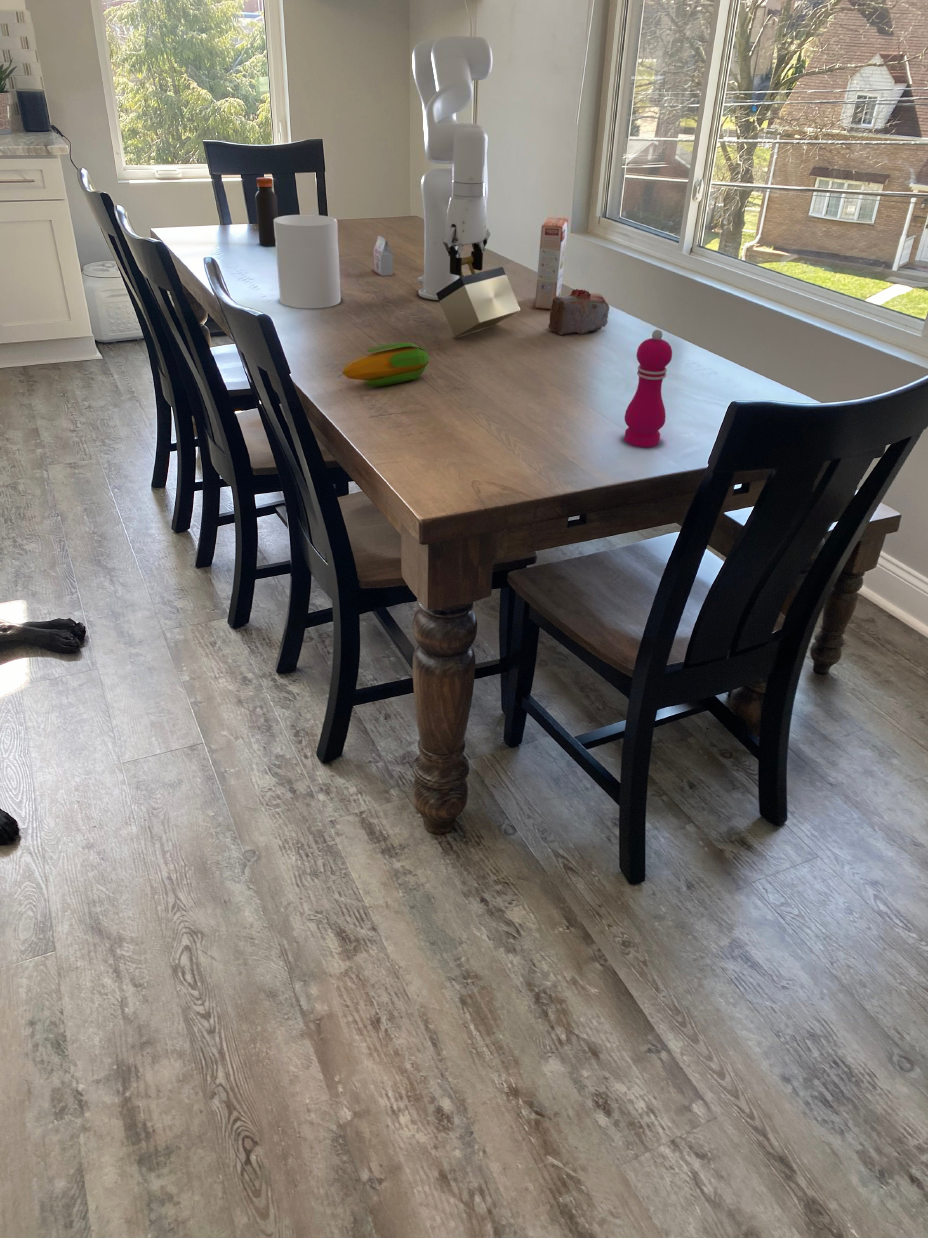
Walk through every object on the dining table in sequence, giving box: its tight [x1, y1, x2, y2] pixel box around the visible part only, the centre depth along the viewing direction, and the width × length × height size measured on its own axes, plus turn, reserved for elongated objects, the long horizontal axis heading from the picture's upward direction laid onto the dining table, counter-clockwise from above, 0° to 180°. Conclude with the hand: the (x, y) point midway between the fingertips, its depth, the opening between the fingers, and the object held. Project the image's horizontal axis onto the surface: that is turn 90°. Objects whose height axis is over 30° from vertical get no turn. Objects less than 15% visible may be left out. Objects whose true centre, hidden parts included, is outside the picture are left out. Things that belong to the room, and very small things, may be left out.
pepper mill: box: [624, 329, 673, 448], centre depth 156 cm, size 7×7×20 cm
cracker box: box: [534, 216, 569, 311], centre depth 237 cm, size 14×6×21 cm, turn 168°
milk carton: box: [372, 235, 394, 277], centre depth 265 cm, size 4×7×10 cm, turn 24°
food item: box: [547, 288, 610, 336], centre depth 219 cm, size 14×8×10 cm, turn 118°
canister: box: [274, 214, 342, 310], centre depth 232 cm, size 16×16×20 cm
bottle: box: [254, 177, 279, 247], centre depth 292 cm, size 7×7×20 cm
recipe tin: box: [436, 255, 521, 338], centre depth 213 cm, size 16×16×9 cm
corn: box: [341, 341, 430, 387], centre depth 183 cm, size 7×8×20 cm
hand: (466, 271), depth 212 cm, fingers closed on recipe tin, 7 cm apart
